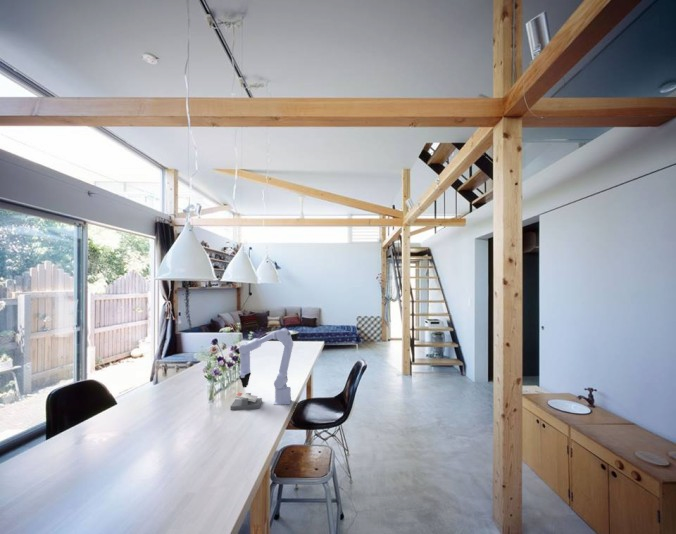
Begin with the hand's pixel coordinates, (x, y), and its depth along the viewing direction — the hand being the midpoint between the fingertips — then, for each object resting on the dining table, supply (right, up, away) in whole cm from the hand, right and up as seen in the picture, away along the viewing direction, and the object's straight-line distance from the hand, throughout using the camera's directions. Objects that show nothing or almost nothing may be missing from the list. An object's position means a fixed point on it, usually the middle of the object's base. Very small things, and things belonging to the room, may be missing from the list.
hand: (245, 386), depth 195 cm
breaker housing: (+3, -9, -6) cm, 11 cm away
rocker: (+2, -4, -6) cm, 8 cm away
